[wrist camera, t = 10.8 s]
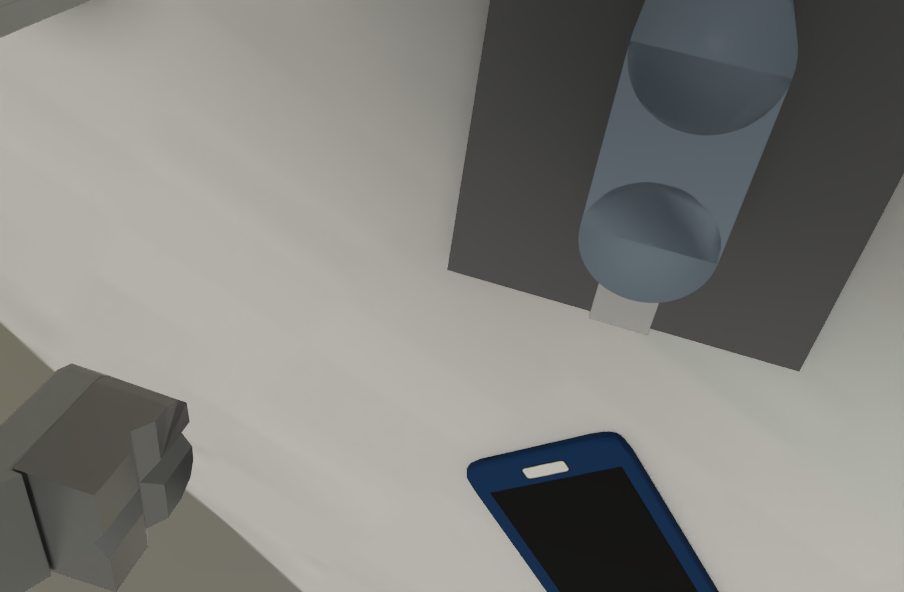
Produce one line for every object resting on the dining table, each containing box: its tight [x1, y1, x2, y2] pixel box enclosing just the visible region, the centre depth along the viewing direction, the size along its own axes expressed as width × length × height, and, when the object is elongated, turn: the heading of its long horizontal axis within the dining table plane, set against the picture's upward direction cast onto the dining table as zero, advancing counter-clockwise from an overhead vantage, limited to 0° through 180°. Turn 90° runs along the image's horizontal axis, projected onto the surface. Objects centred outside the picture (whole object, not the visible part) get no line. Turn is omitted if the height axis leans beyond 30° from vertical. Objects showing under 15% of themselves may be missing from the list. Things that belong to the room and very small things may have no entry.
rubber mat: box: [448, 0, 904, 371], centre depth 23 cm, size 16×12×1 cm
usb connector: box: [578, 0, 798, 335], centre depth 21 cm, size 14×4×4 cm, turn 172°
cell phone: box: [467, 432, 718, 592], centre depth 36 cm, size 7×14×1 cm, turn 32°
